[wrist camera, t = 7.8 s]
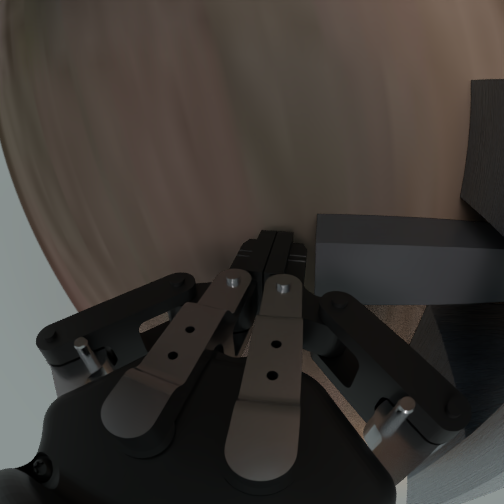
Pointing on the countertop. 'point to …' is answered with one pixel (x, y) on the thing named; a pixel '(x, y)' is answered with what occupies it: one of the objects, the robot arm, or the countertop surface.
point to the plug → (409, 260)
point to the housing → (470, 334)
